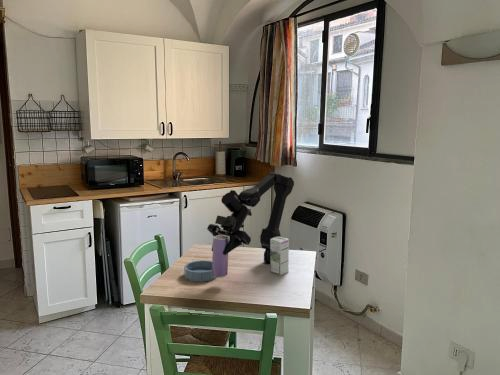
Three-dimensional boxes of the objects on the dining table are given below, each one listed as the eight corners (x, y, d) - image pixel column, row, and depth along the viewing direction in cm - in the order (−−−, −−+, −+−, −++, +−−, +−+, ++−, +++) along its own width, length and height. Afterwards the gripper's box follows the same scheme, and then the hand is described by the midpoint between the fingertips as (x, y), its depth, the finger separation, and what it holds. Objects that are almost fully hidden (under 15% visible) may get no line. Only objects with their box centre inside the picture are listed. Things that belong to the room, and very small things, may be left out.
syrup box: (289, 271, 170) (289, 238, 168) (280, 275, 166) (280, 241, 164) (278, 268, 174) (278, 235, 172) (269, 272, 170) (269, 238, 167)
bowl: (221, 270, 172) (221, 261, 171) (213, 282, 158) (213, 273, 158) (190, 268, 174) (190, 259, 173) (180, 280, 160) (180, 271, 160)
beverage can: (220, 279, 151) (221, 239, 149) (208, 275, 154) (209, 236, 153) (230, 275, 156) (232, 237, 154) (218, 271, 159) (220, 234, 158)
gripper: (209, 203, 160) (189, 237, 154) (245, 210, 148) (225, 247, 142) (223, 219, 167) (205, 251, 161) (259, 226, 156) (240, 262, 149)
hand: (218, 252), depth 153 cm, fingers closed on beverage can, 6 cm apart
